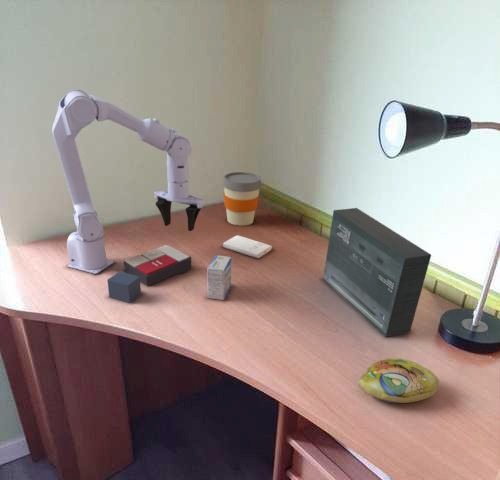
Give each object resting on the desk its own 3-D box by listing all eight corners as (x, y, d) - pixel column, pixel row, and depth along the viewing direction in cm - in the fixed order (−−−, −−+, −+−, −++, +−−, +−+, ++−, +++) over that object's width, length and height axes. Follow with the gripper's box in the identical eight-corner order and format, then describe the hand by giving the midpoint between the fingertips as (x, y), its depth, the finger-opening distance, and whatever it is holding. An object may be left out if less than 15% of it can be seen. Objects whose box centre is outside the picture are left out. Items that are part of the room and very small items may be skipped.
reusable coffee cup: (218, 225, 165) (219, 181, 157) (226, 212, 175) (227, 170, 167) (255, 229, 163) (258, 185, 155) (261, 216, 174) (263, 173, 166)
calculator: (122, 259, 131) (166, 242, 140) (124, 273, 134) (168, 255, 143) (146, 274, 125) (191, 255, 134) (148, 288, 128) (192, 268, 137)
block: (109, 297, 122) (107, 279, 119) (121, 288, 126) (119, 271, 123) (129, 303, 120) (128, 285, 117) (141, 294, 124) (139, 276, 121)
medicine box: (223, 301, 123) (224, 270, 118) (206, 298, 124) (207, 267, 119) (231, 286, 130) (232, 256, 125) (214, 284, 130) (215, 254, 126)
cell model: (450, 399, 92) (386, 381, 87) (423, 421, 97) (361, 404, 92) (432, 355, 100) (372, 336, 95) (408, 377, 105) (349, 360, 100)
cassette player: (410, 331, 116) (431, 254, 105) (385, 337, 113) (404, 258, 103) (344, 276, 138) (356, 207, 127) (323, 279, 136) (333, 210, 125)
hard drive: (237, 239, 156) (271, 249, 150) (222, 247, 150) (257, 259, 144) (237, 234, 155) (271, 244, 149) (222, 242, 149) (257, 254, 144)
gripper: (208, 180, 134) (208, 227, 141) (162, 172, 138) (164, 217, 145) (196, 187, 128) (196, 236, 135) (148, 178, 133) (151, 225, 140)
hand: (179, 227), depth 140 cm, fingers open, 7 cm apart
